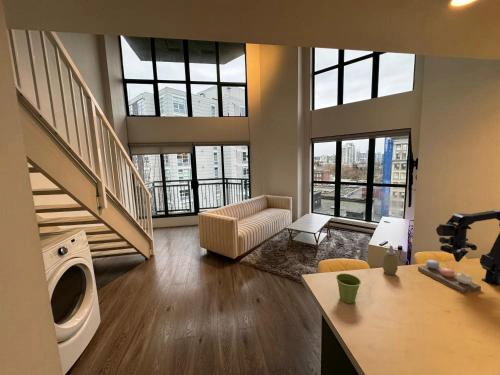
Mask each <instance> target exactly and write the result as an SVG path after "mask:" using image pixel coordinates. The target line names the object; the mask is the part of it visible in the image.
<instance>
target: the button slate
mask: <svg viewBox="0 0 500 375" xmlns="http://www.w3.org/2000/svg"><path fill="white" fill-rule="evenodd" d="M425 266H428V267H430V268H431V269H432V270H434V269H438V268H439V267H440V262H439V261H438V260H435V259H434V260H433V259H426V265H425Z"/></svg>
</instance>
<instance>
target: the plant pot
mask: <svg viewBox="0 0 500 375" xmlns="http://www.w3.org/2000/svg"><path fill="white" fill-rule="evenodd" d="M335 279H336V281H337V287H338V294H339V298H340V300H341V301H342V302H343V303H346V304H354V303H355V302H356V299H357V295H358V290H359V288H360V286H361V284H362V280H361V279H360V278H359V277H357V276H355V275H353V274H351V273H343V272H342V273H339V274H337V275H336V276H335Z"/></svg>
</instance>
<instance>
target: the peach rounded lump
mask: <svg viewBox="0 0 500 375" xmlns="http://www.w3.org/2000/svg"><path fill="white" fill-rule="evenodd" d="M440 268H441V271H440V274H441V275H443V276H445V277H450V278H453V277H454V274H455V271H454V270H453V269H451V268H449V267H440Z"/></svg>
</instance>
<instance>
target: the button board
mask: <svg viewBox="0 0 500 375" xmlns="http://www.w3.org/2000/svg"><path fill="white" fill-rule="evenodd" d="M441 268H442V267H440V266H439V268H438V269H434V270H432V269H431V268H430V267H428V266H426V265H421V266H418V267H417V271H419V272H420V273H423V274H424V275H426V276H428V277H430V278H432V279H434V280H436V281H438V282H440V283H442V284H444V285H446V286H447V287H449V288H451V289H453V290H455V291H457V292H459V293H461V294H469V293H475V292H481V290H482V286H481V285H479V284H477V283H474V282H473V281H472V284H466V285H463V284H462V283H461V282H459V281H457V274H455V273H454V277H453V278H450V277H445V276H443V275H441V274H440V271H441Z"/></svg>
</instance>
